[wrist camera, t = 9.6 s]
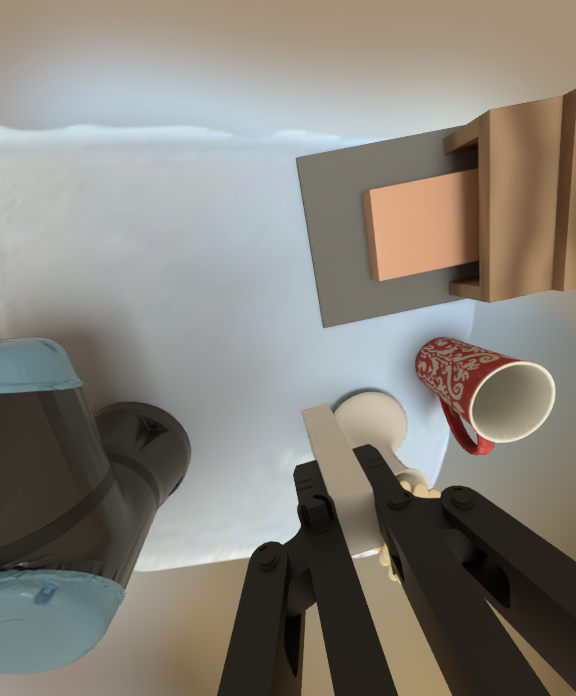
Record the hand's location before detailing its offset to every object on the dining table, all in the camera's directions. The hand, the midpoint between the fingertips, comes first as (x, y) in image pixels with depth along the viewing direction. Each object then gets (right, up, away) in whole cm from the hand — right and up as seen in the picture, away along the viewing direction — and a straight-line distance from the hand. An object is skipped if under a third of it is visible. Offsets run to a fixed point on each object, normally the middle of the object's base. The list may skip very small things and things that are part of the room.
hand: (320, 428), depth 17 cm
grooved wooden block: (+22, +21, +21) cm, 37 cm away
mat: (+15, +19, +21) cm, 32 cm away
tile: (+15, +19, +21) cm, 32 cm away
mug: (+19, +1, +27) cm, 34 cm away
